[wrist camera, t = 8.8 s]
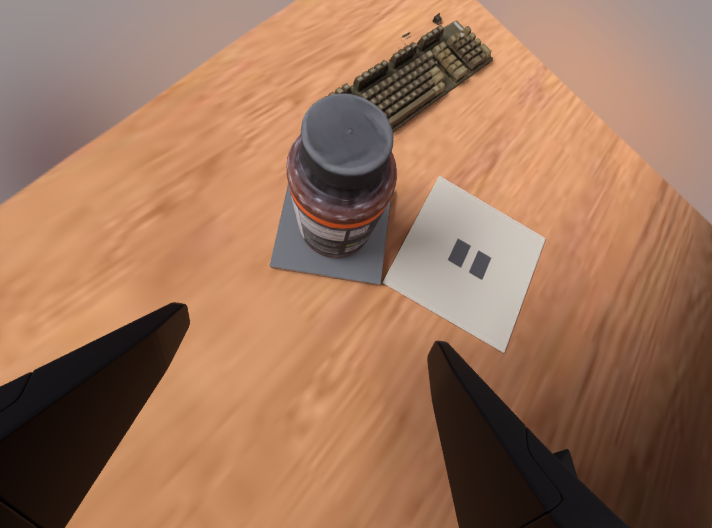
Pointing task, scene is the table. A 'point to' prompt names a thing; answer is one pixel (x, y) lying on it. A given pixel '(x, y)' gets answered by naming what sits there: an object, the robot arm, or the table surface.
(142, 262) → the table surface
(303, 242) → the slate coaster
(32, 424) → the robot arm
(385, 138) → the supplement bottle
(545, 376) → the table surface
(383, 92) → the keyboard
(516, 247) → the card
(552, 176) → the table surface
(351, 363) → the table surface
